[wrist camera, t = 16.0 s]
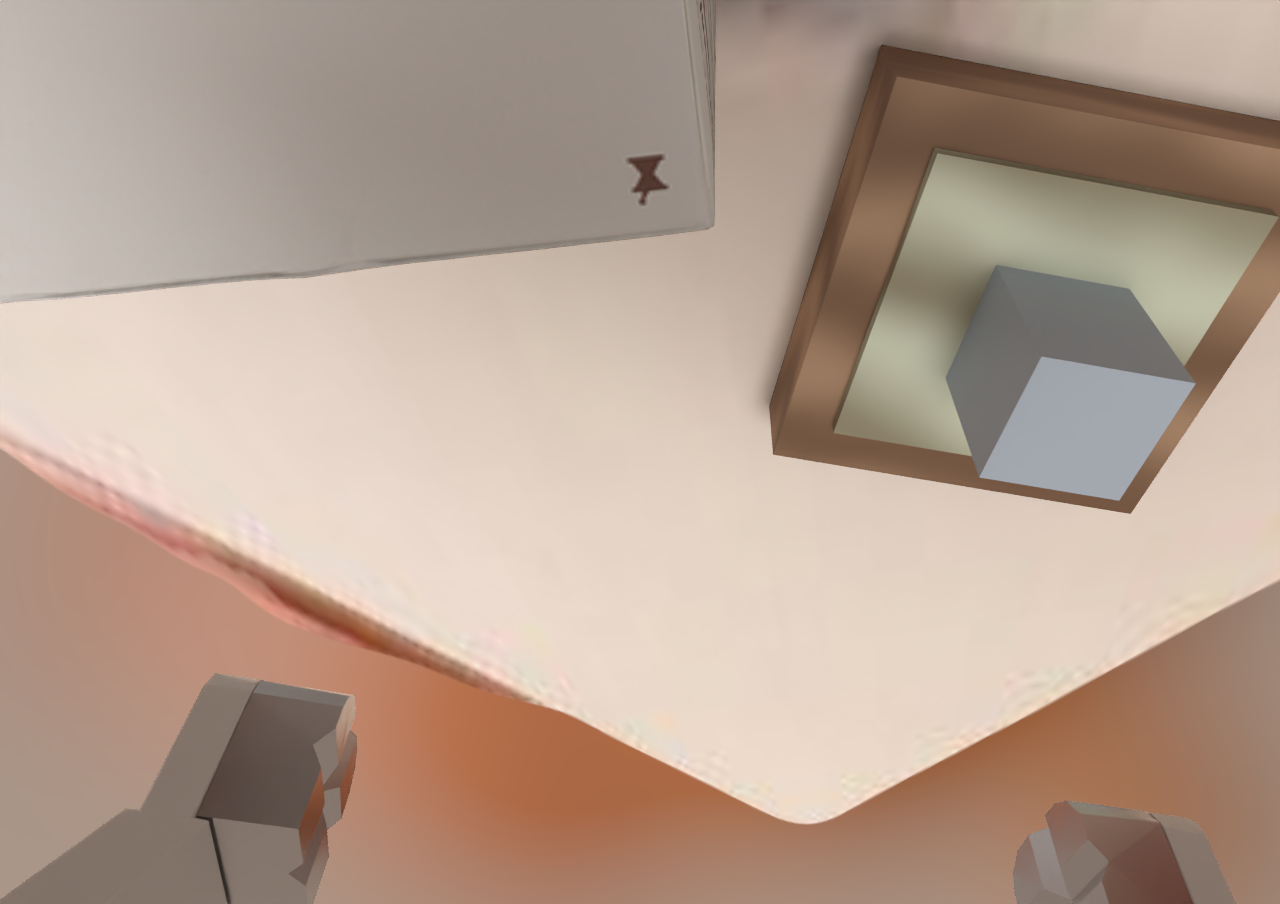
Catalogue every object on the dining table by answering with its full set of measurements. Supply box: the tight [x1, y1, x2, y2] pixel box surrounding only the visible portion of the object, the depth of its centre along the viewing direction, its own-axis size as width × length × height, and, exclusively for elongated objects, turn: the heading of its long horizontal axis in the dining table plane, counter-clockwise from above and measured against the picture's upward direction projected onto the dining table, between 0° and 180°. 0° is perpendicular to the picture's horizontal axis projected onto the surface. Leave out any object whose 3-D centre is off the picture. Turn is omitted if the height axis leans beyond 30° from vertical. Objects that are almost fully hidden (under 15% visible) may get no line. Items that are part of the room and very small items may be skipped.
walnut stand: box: [769, 45, 1280, 514], centre depth 37 cm, size 16×16×4 cm
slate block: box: [946, 265, 1196, 501], centre depth 33 cm, size 5×5×6 cm
